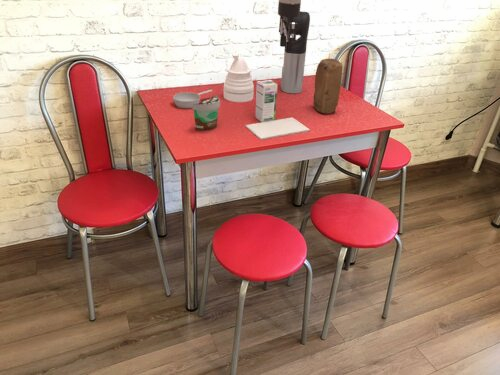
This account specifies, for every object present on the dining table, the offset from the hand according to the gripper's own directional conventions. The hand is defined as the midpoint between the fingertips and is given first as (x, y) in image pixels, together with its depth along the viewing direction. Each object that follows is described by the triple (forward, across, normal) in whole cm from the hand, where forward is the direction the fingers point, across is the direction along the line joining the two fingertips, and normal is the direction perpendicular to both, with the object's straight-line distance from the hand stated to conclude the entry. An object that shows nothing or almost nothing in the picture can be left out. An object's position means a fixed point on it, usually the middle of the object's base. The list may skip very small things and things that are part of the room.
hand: (285, 49), depth 151 cm
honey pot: (+26, -22, -13) cm, 36 cm away
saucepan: (+26, -16, -32) cm, 44 cm away
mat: (+25, +13, -4) cm, 28 cm away
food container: (+25, +9, -28) cm, 39 cm away
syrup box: (+25, +3, -7) cm, 27 cm away
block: (+26, -4, +19) cm, 32 cm away
